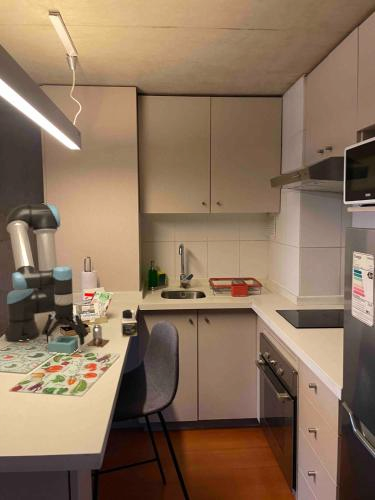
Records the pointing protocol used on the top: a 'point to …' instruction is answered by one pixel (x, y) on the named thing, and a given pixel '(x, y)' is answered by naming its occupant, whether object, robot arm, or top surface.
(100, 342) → the post
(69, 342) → the collar
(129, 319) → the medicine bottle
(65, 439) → the top surface
